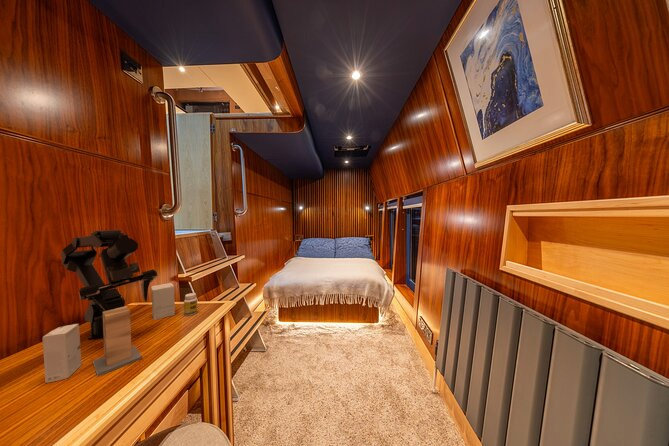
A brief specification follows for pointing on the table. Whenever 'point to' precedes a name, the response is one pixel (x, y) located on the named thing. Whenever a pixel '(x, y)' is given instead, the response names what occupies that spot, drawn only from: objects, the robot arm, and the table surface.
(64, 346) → the skincare box
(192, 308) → the supplement bottle
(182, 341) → the table surface
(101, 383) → the table surface
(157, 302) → the supplement box
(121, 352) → the oak block
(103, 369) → the slate coaster
